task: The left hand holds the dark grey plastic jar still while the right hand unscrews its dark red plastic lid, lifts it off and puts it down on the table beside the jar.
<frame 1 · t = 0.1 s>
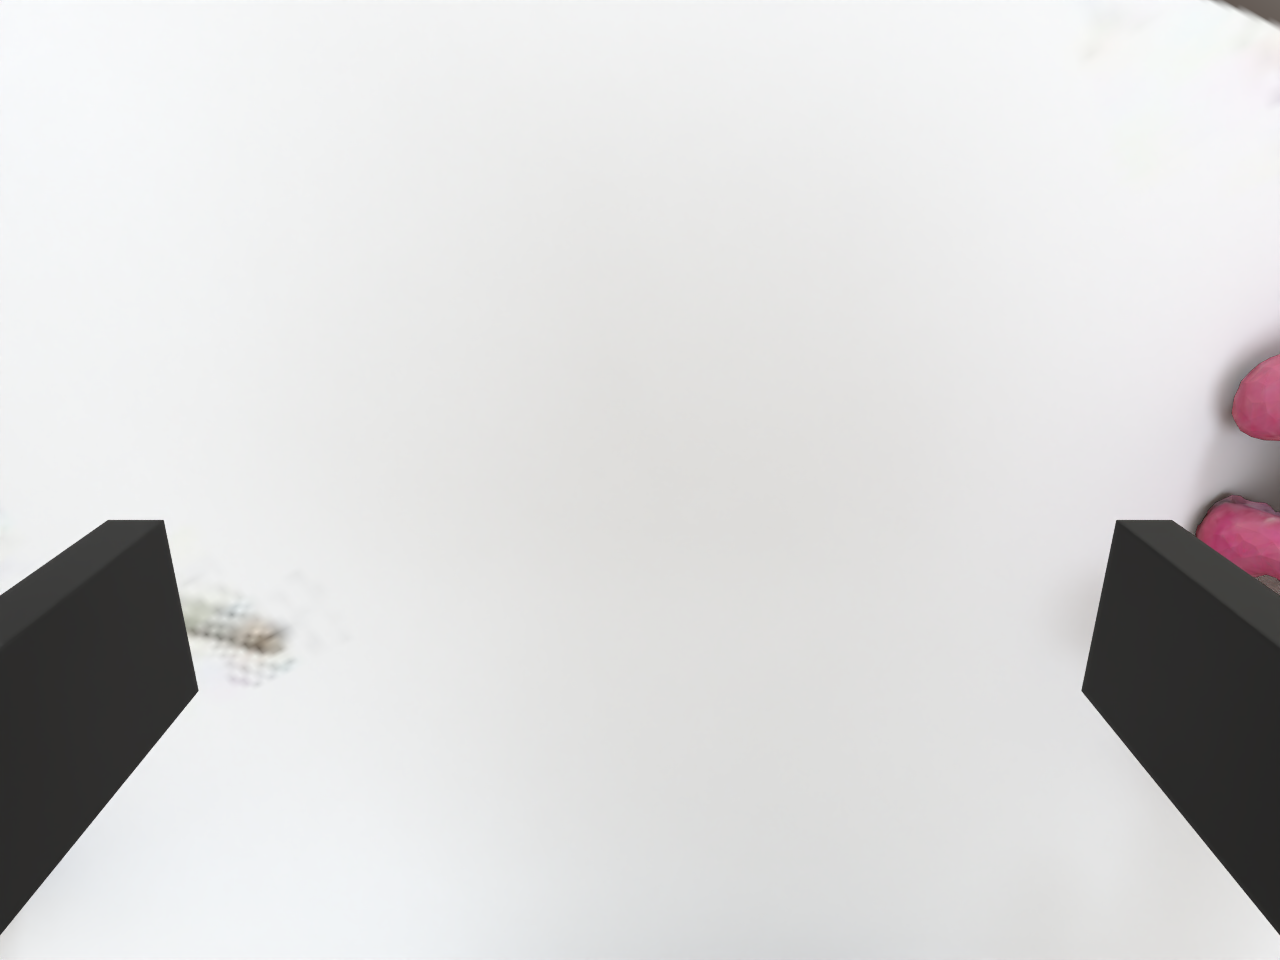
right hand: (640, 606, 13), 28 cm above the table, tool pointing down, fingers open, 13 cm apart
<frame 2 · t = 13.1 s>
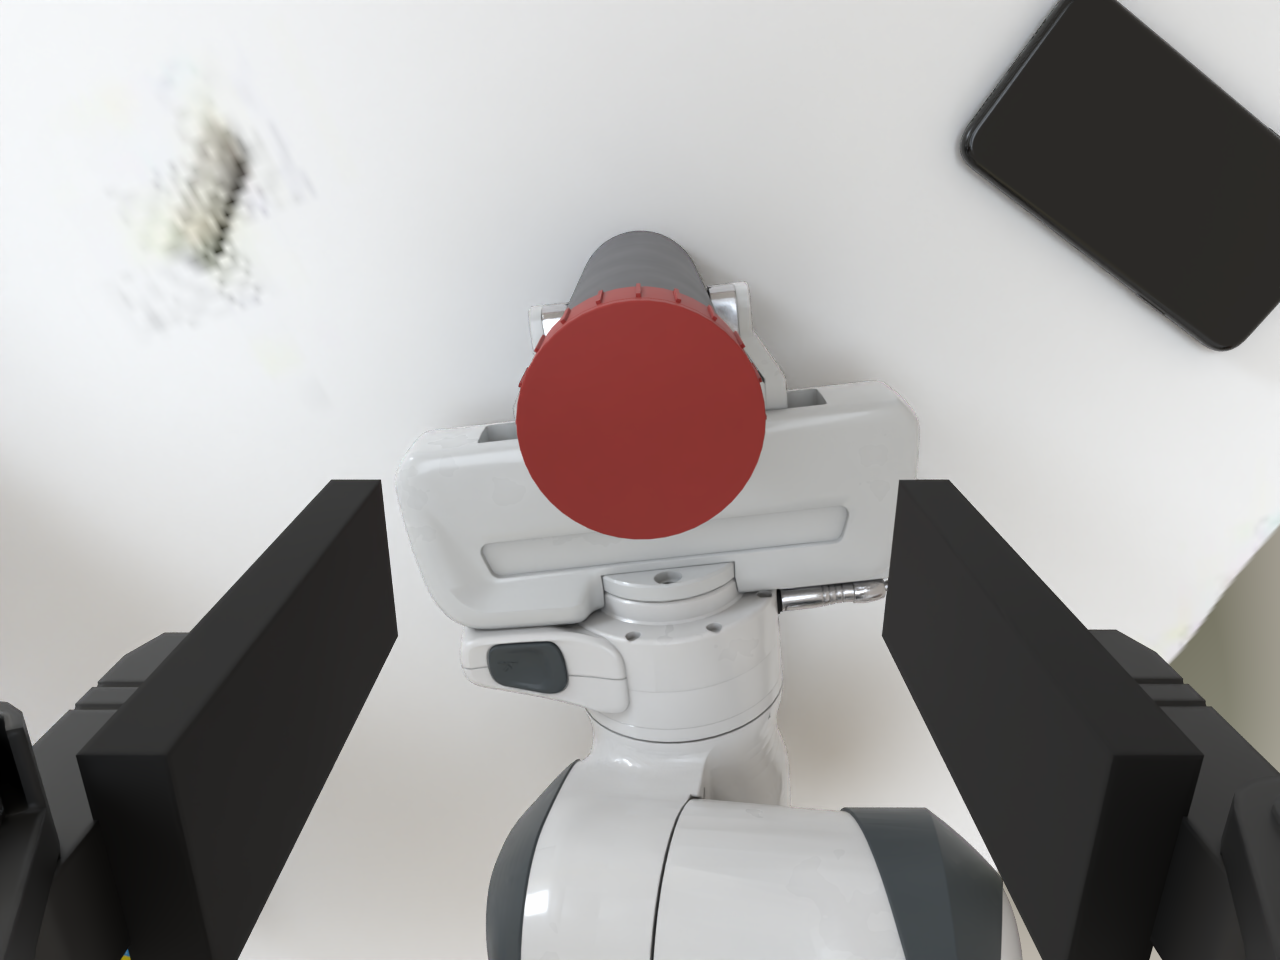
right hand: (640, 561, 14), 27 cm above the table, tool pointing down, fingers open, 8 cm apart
left hand: (636, 295, 33), fingers closed on jar, 5 cm apart
lid: (640, 421, 21), point 20 cm above the table, screwed on, not yet turned
smartphone: (1149, 179, 38), on the table
jar: (640, 292, 39), on the table, touching left hand
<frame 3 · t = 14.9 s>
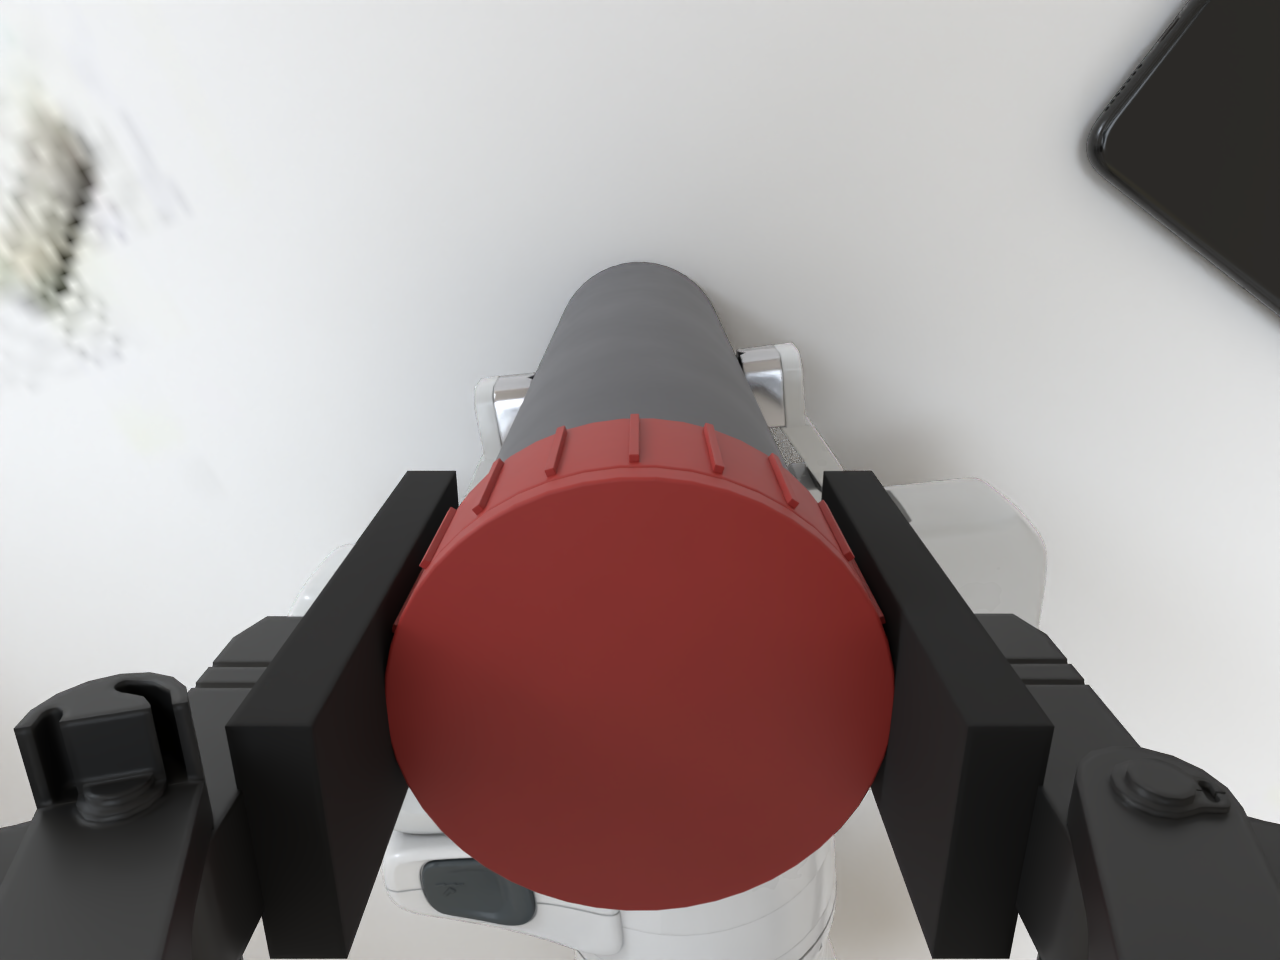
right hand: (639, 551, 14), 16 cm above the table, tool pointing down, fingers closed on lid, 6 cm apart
lid: (639, 699, 10), point 20 cm above the table, screwed on, not yet turned, touching right hand
jar: (639, 345, 29), on the table, touching left hand
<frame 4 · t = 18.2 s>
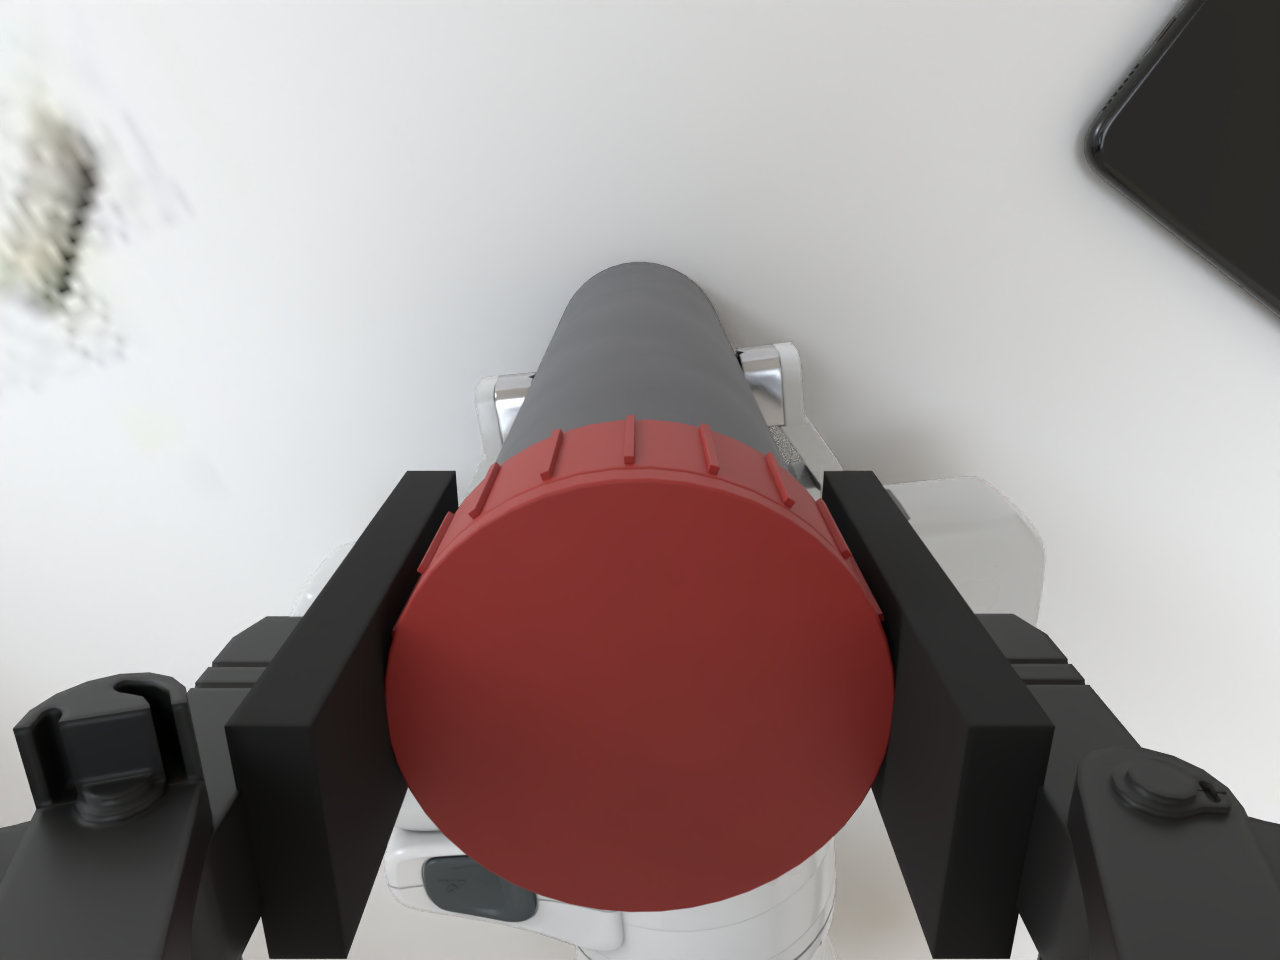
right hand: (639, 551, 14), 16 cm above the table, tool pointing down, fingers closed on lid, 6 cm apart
lid: (639, 700, 10), point 20 cm above the table, turned 91° so far, risen 0.1 cm, still on its thread, touching right hand
jar: (639, 345, 29), on the table, touching left hand
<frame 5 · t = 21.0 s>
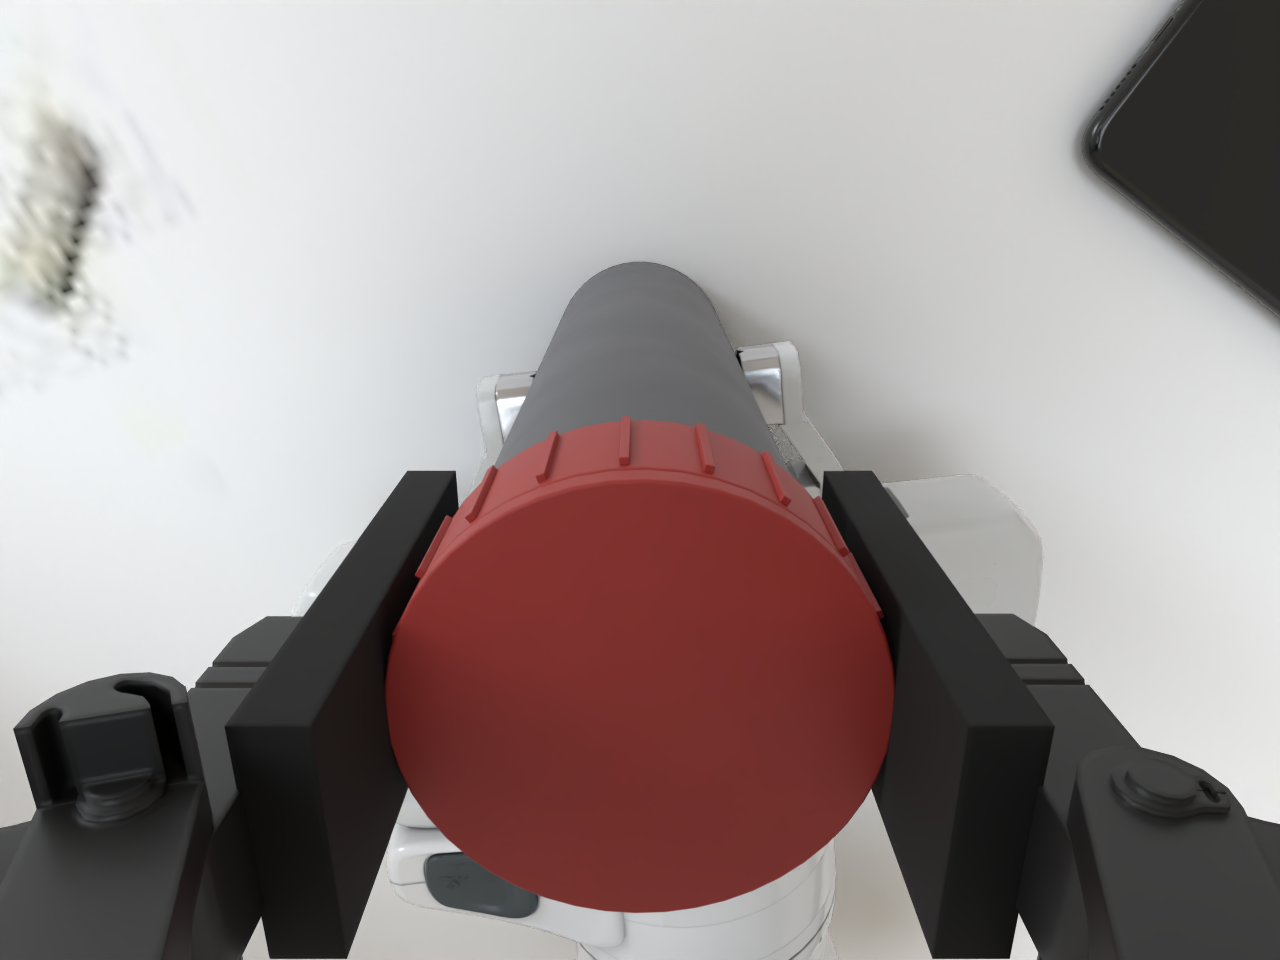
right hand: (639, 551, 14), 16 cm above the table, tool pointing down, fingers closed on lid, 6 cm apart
lid: (640, 701, 10), point 20 cm above the table, turned 182° so far, risen 0.3 cm, still on its thread, touching right hand
jar: (640, 344, 29), on the table, touching left hand
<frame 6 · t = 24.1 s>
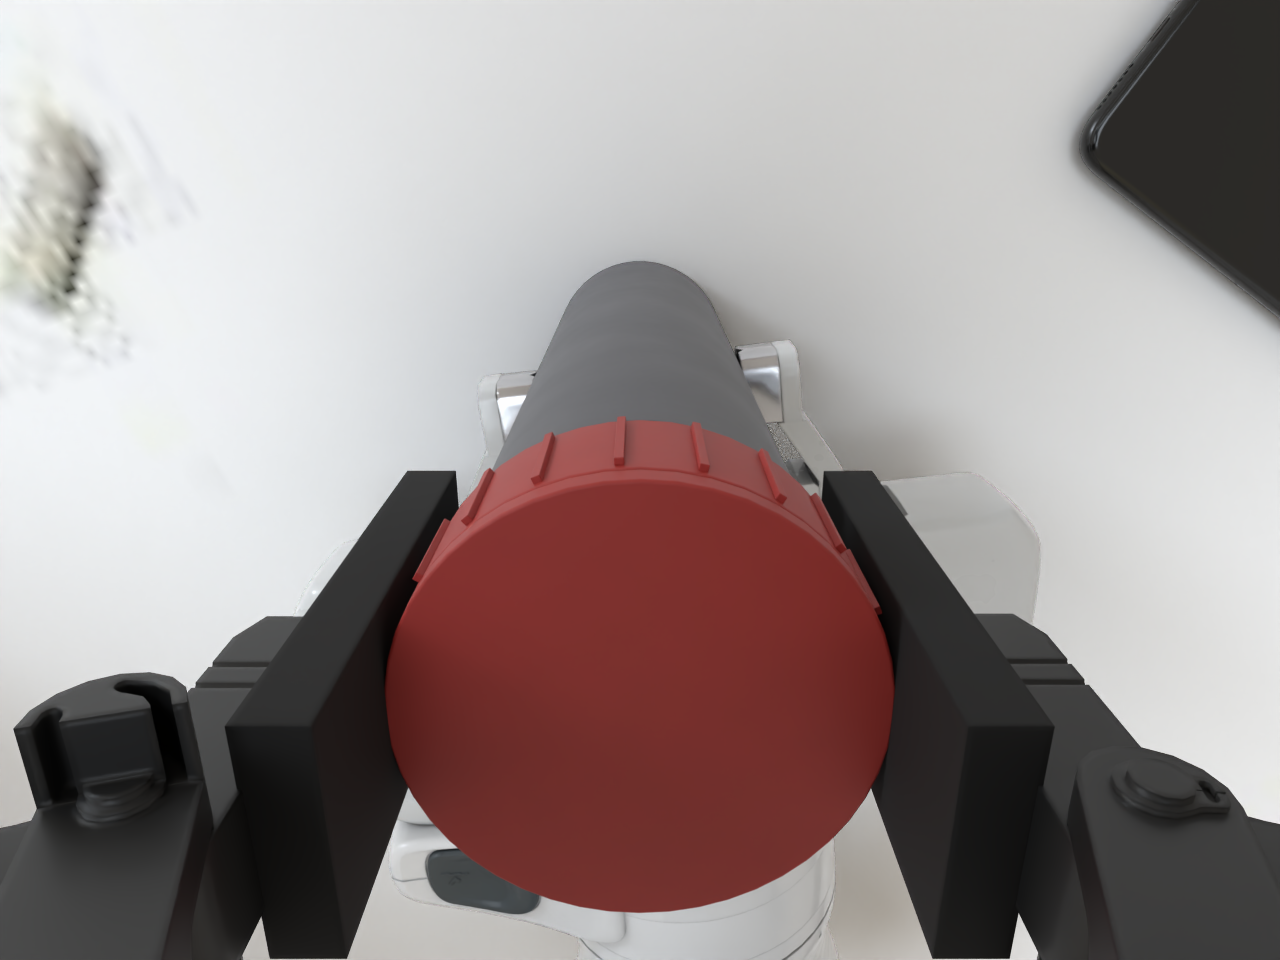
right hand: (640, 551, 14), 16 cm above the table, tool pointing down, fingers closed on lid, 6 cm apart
lid: (639, 701, 10), point 20 cm above the table, turned 273° so far, risen 0.4 cm, still on its thread, touching right hand
jar: (639, 343, 29), on the table, touching left hand
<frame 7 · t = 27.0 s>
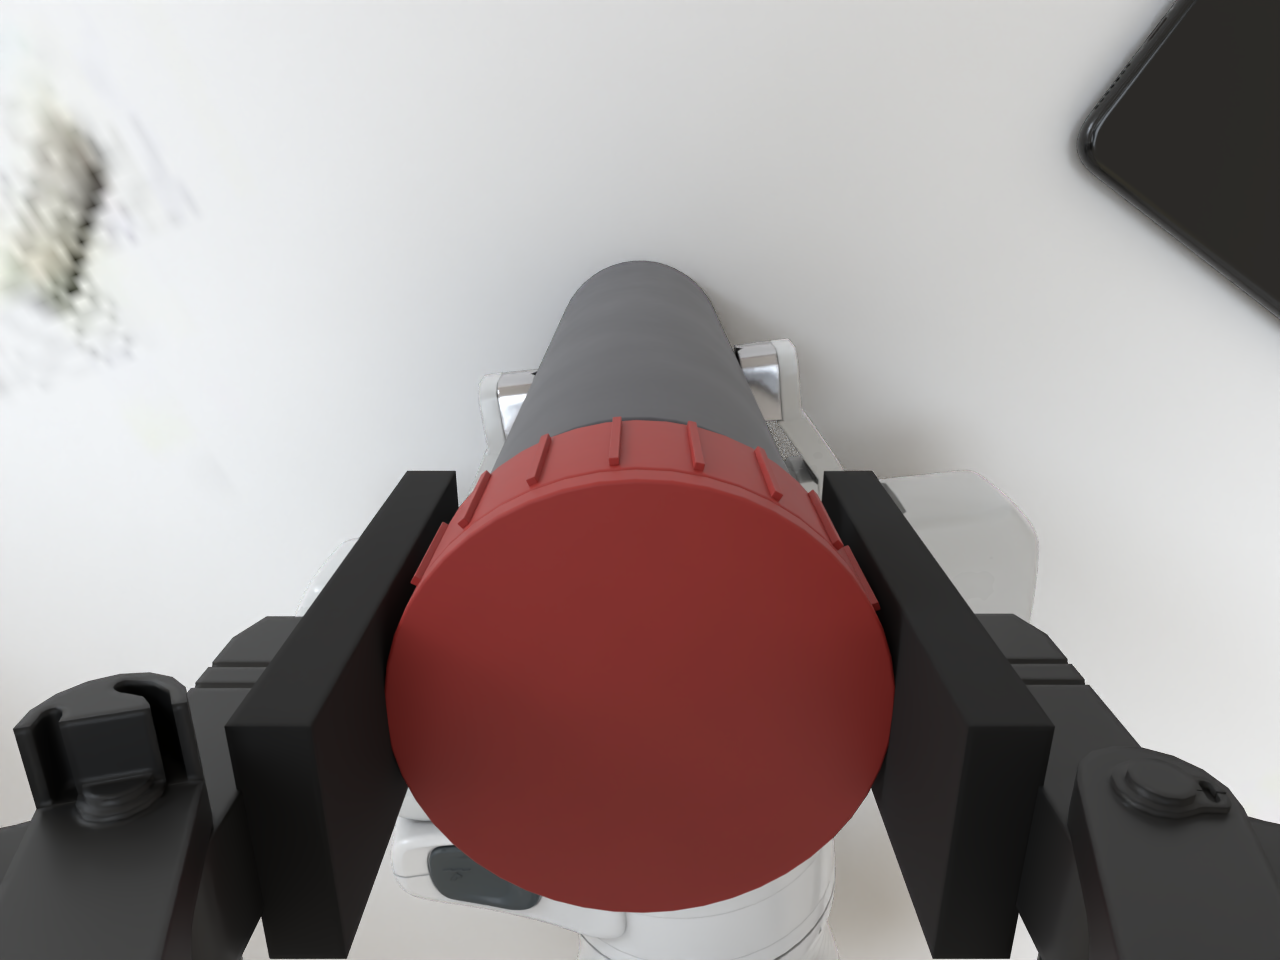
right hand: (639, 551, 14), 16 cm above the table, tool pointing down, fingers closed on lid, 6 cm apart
lid: (639, 701, 10), point 20 cm above the table, turned 364° so far, risen 0.6 cm, still on its thread, touching right hand
jar: (639, 342, 30), on the table, touching left hand
when the right hand's fingers open (0 cm above the table, at t = 37.8 s): lid drops 2 cm, point 2 cm above the table.
when the left hand's fingers open (7 cm above the table, at t = 38.6 s): jar stays where it is, on the table.
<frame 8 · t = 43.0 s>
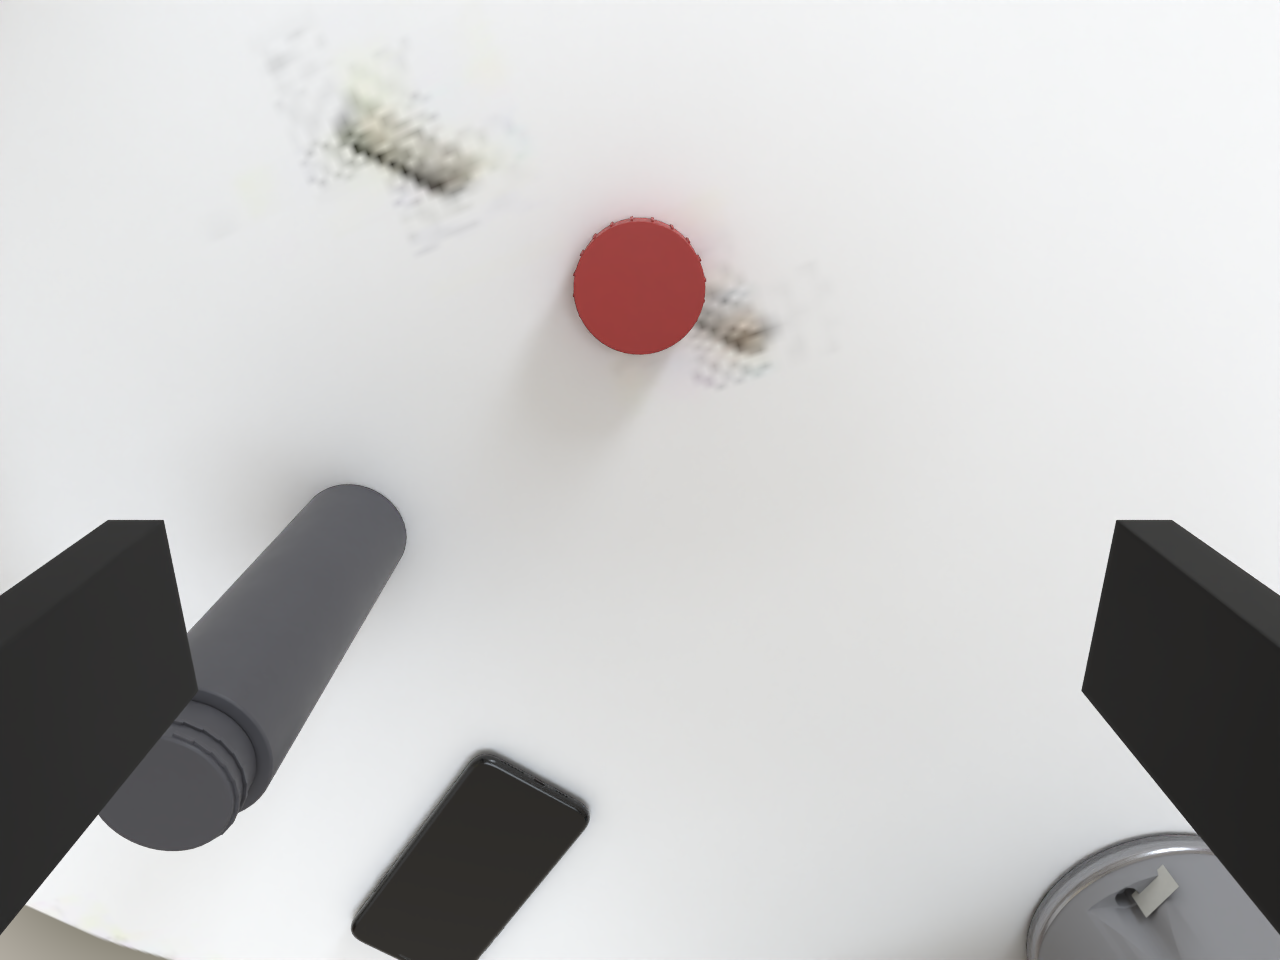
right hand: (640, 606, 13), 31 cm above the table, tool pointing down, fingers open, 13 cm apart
lid: (639, 288, 39), point 2 cm above the table, off its thread
smartphone: (469, 864, 53), on the table
jar: (354, 532, 46), on the table
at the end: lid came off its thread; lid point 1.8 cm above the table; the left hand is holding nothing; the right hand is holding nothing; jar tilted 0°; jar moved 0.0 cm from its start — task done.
